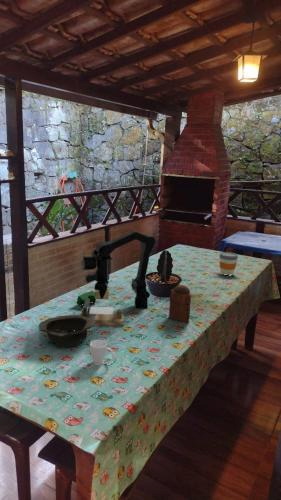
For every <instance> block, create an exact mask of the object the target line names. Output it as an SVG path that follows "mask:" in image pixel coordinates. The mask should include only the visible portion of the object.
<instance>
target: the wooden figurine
mask: <svg viewBox="0 0 281 500" xmlns="http://www.w3.org/2000/svg"><path fill="white" fill-rule="evenodd" d="M190 293H191V291H190V289H189V287H188V286H186V285H184V284H180V285H177V286H175V287H174V288H172V289H171V291H170V295H169V307H168V308H169V313H168V317H169V318H170V319H172V320H174V321H179V322H183V323H189V322H190V316H191V315H190V314H191V302H192V301H191V300H192V296H191V294H190Z"/></svg>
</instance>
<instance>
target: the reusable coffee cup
mask: <svg viewBox="0 0 281 500" xmlns="http://www.w3.org/2000/svg"><path fill="white" fill-rule="evenodd" d="M237 260H238V253H235V252H230V251H222V252H220V253H219V263H218V264H219V270H220V272H219V273H222V274H227V275H230V274H233V275H234V274H235V270H236V266H237Z"/></svg>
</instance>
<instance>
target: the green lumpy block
mask: <svg viewBox="0 0 281 500" xmlns="http://www.w3.org/2000/svg"><path fill="white" fill-rule="evenodd" d="M86 299H87V300H90V302H93V303H95V304H96V301H97V299H95V290H89V291H88V292H85V293H82V294H80V295H78V296H77V299H76V300H77V301H76V304H77V305H78V306H79V307H81V306H83V305H82V304H85V301H86ZM93 303H92V304H93ZM80 305H81V306H80Z"/></svg>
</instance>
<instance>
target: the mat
mask: <svg viewBox="0 0 281 500" xmlns="http://www.w3.org/2000/svg"><path fill="white" fill-rule="evenodd" d="M114 310H115V309H114V307H106V306H103V307H101V306H91V307H90V309H89V314H114Z"/></svg>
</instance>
